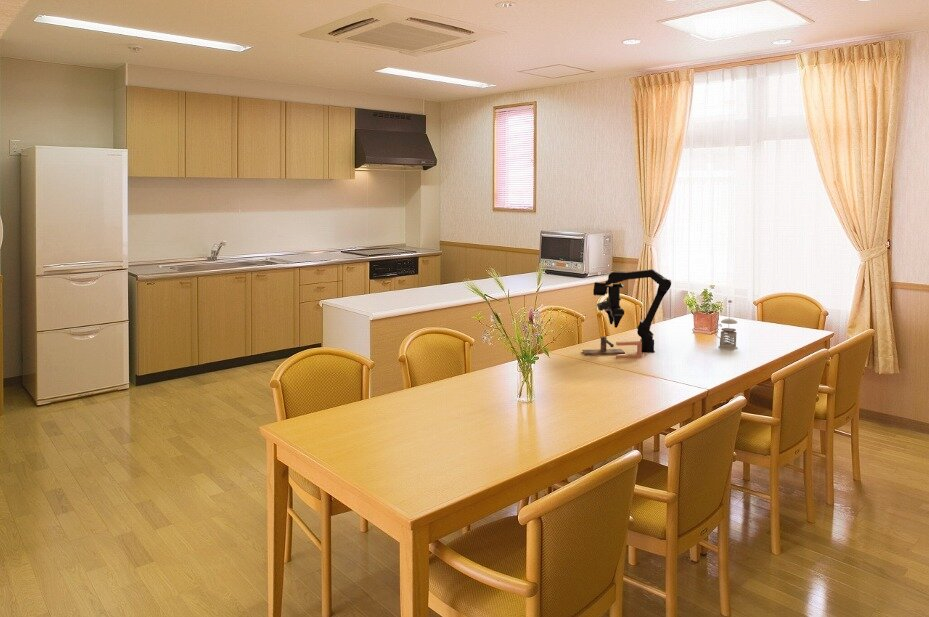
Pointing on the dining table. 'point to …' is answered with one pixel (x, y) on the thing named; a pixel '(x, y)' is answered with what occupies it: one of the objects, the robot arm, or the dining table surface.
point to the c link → (638, 343)
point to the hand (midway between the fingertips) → (613, 325)
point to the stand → (604, 349)
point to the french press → (730, 332)
